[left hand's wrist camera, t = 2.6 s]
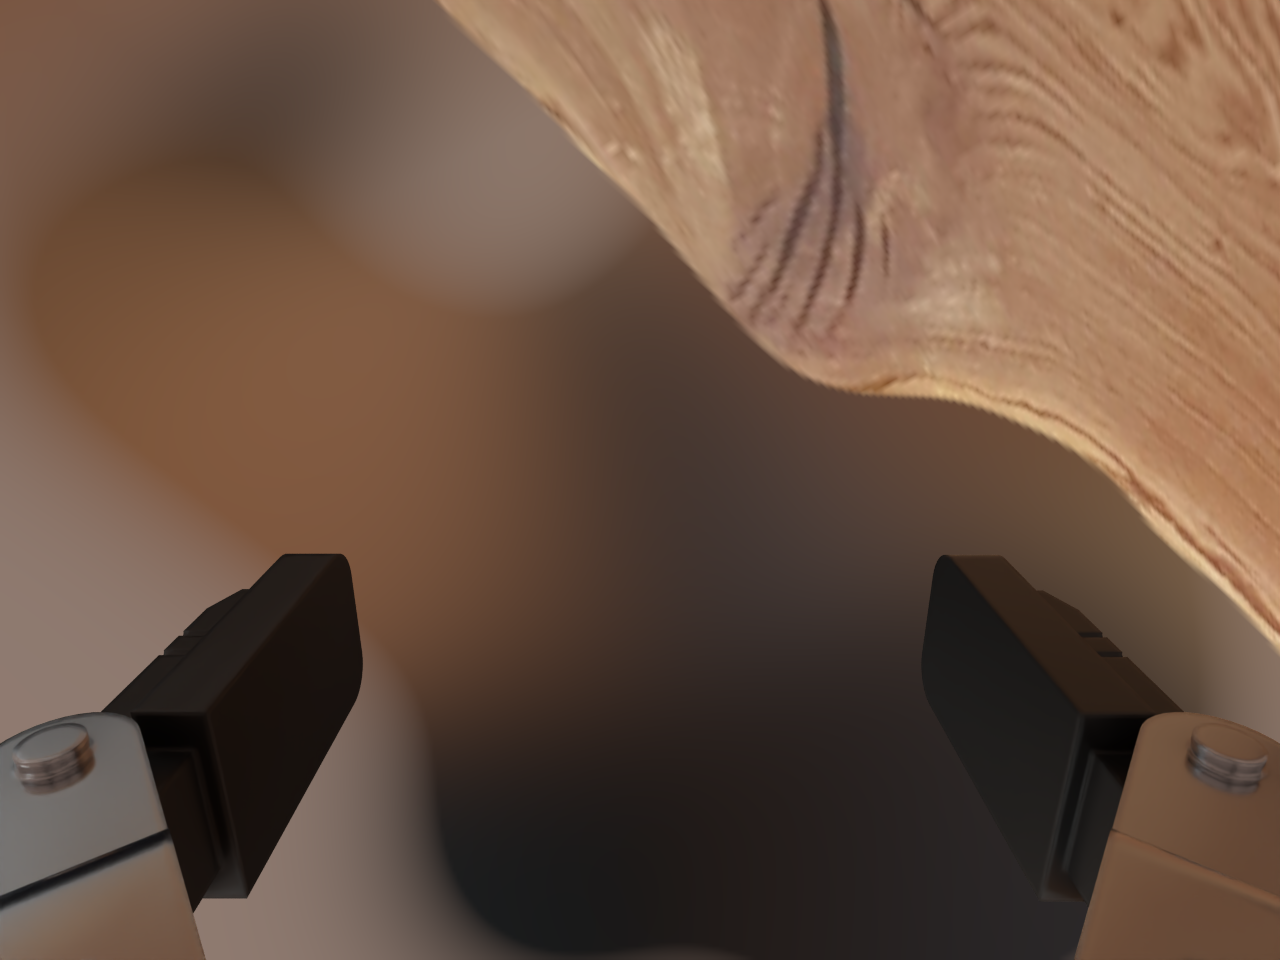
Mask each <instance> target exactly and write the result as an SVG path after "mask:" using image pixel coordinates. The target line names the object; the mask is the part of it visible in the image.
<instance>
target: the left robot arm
mask: <svg viewBox="0 0 1280 960" xmlns="http://www.w3.org/2000/svg"><path fill="white" fill-rule="evenodd" d="M362 670H363V657H362V648H361V641H360V634H359V626H358V619H357V612H356V605H355V598H354V590H353V583H352V576H351V570H350V566H349V563H348V561H347V559H346V557H345V556H344V555H342V554H284V555H282V556H281V557H280V558H279V559H278V560H277V561H276V562H275V563H274V564H273V565H272V566H271V567H270V568H269V569H268V570H267V571H266V572H265V573H264V574H263V575H262V576H261V577H260V579H259V580H258V581H257V582H256V583H255V584H254V585H253V586H252V587H251V588H250V589H242V590H240V591H238V592H236V593H235V594H233V595H231V596H229V597H227V598H225V599H223V600H222V601H220V602H218V603H216V604H214V605H212V606H211V607H209V608H207V609H206V610H205V611H204V612H203V613H202V614H201V615H200V616H199V617H198V618H197V619H196V620H195V621H194V622H193V623H192V624H190V625H189V626H188V627H187V628H186V629H185V630H184V634H183V636H178V637H177V638H176V639H175V640H174V641H173V642H172V643H171V644H170V645H169V646H168V647H167V648H166V649H165V650H164V655H159V656H158V657H157V658H156V659H155V660H154V661H153V662H152V663H151V664H150V665H148V666H147V667H146V668H145V669H144V670H143V671H142V672H141V673H140V674H139V675H138V676H137V677H136V678H135V679H134V680H133V681H132V682H131V683H130V684H129V685H128V686H127V687H126V688H125V689H124V690H123V691H122V692H121V693H120V694H119V695H118V696H117V697H116V698H115V699H114V700H113V701H112V702H111V703H110V704H109V705H108V706H106V707H105V708H104V709H103V710H102V711H101V712H92V713H83V714H77V715H72V716H67V717H63V718H59V719H55V720H52V721H48V722H46V723H43V724H40V725H37V726H34V727H32V728H30V729H27V730H25V731H23V732H21V733H19V734H17V735H15V736H13V737H11V738H9V739H7V740H5V741H4V742H2V743H0V960H206V959H205V955H204V951H203V948H202V944H201V941H200V937H199V934H198V930H197V926H196V923H195V919H194V916H193V913H194V911H195V910H196V908H197V906H198V905H199V903H200V901H201V900H202V898H247V897H248V895H249V894H250V892H251V890H252V888H253V886H254V884H255V883H256V881H257V879H258V877H259V875H260V874H261V872H262V870H263V868H264V866H265V865H266V863H267V861H268V859H269V857H270V856H271V854H272V852H273V850H274V848H275V846H276V845H277V843H278V841H279V839H280V837H281V836H282V834H283V832H284V830H285V828H286V827H287V825H288V823H289V821H290V819H291V817H292V816H293V814H294V812H295V810H296V808H297V806H298V805H299V803H300V801H301V799H302V798H303V796H304V794H305V792H306V790H307V788H308V787H309V785H310V783H311V781H312V779H313V778H314V776H315V774H316V772H317V770H318V768H319V767H320V765H321V763H322V761H323V759H324V758H325V756H326V754H327V752H328V750H329V749H330V747H331V745H332V743H333V741H334V740H335V738H336V736H337V734H338V732H339V730H340V729H341V727H342V725H343V723H344V721H345V720H346V718H347V716H348V714H349V712H350V711H351V709H352V707H353V705H354V703H355V701H356V699H357V696H358V693H359V690H360V685H361V680H362ZM922 679H923V685H924V690H925V694H926V697H927V700H928V702H929V704H930V706H931V708H932V710H933V711H934V713H935V715H936V717H937V718H938V720H939V722H940V724H941V726H942V727H943V729H944V731H945V733H946V735H947V736H948V738H949V740H950V742H951V743H952V745H953V747H954V749H955V751H956V753H957V754H958V756H959V758H960V760H961V761H962V763H963V765H964V767H965V769H966V770H967V772H968V774H969V776H970V778H971V779H972V781H973V783H974V785H975V787H976V788H977V790H978V792H979V794H980V795H981V797H982V799H983V801H984V803H985V804H986V806H987V808H988V810H989V812H990V813H991V815H992V817H993V819H994V821H995V822H996V824H997V826H998V828H999V829H1000V831H1001V833H1002V835H1003V837H1004V838H1005V840H1006V842H1007V844H1008V846H1009V847H1010V849H1011V851H1012V853H1013V855H1014V856H1015V858H1016V860H1017V862H1018V864H1019V865H1020V867H1021V869H1022V871H1023V872H1024V874H1025V876H1026V878H1027V880H1028V881H1029V883H1030V885H1031V887H1032V889H1033V890H1034V892H1035V894H1036V896H1037V898H1038V899H1039V901H1085V903H1086V904H1087V906H1088V912H1087V916H1086V919H1085V923H1084V927H1083V930H1082V933H1081V937H1080V941H1079V944H1078V948H1077V951H1076V955H1075V959H1074V960H1280V743H1278V742H1276V741H1275V740H1273V739H1271V738H1269V737H1267V736H1265V735H1263V734H1261V733H1259V732H1257V731H1255V730H1253V729H1250V728H1248V727H1246V726H1243V725H1240V724H1237V723H1234V722H1232V721H1228V720H1225V719H1221V718H1217V717H1213V716H1208V715H1203V714H1197V713H1188V712H1184V711H1182V709H1180V708H1179V707H1178V706H1177V705H1176V704H1175V703H1174V702H1173V701H1172V700H1171V699H1170V698H1169V697H1168V696H1167V695H1166V694H1165V693H1164V692H1163V691H1162V690H1161V689H1160V688H1159V687H1158V686H1157V685H1156V684H1155V683H1154V682H1153V681H1152V680H1150V679H1149V678H1148V677H1147V676H1146V675H1145V674H1144V673H1143V672H1142V671H1141V670H1140V669H1139V668H1138V667H1137V666H1136V665H1135V664H1134V663H1133V662H1132V661H1131V660H1130V659H1129V658H1128V657H1123V656H1122V652H1121V651H1120V650H1119V649H1118V648H1117V647H1116V646H1115V645H1114V644H1113V643H1112V642H1111V641H1110V640H1109V639H1108V638H1105V637H1104V638H1103V637H1102V632H1101V631H1100V630H1099V629H1098V628H1097V627H1096V626H1095V625H1094V624H1093V623H1092V622H1091V621H1089V620H1088V619H1087V618H1086V617H1085V616H1084V615H1083V614H1082V613H1081V612H1080V611H1079V610H1078V609H1076V608H1074V607H1072V606H1070V605H1068V604H1067V603H1065V602H1063V601H1061V600H1059V599H1057V598H1056V597H1054V596H1052V595H1050V594H1048V593H1046V592H1045V591H1036V590H1035V589H1034V588H1033V587H1032V586H1031V585H1030V584H1029V583H1028V582H1027V581H1026V580H1025V579H1024V577H1022V575H1021V574H1020V573H1019V572H1018V571H1017V570H1016V569H1015V568H1014V567H1013V566H1012V565H1011V564H1010V563H1009V562H1008V561H1007V560H1006V559H1005V558H1004V557H1002V556H1000V555H943V556H941V557H940V558H939V559H938V561H937V563H936V566H935V569H934V574H933V580H932V587H931V594H930V602H929V609H928V616H927V623H926V630H925V637H924V644H923V652H922Z"/></svg>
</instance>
